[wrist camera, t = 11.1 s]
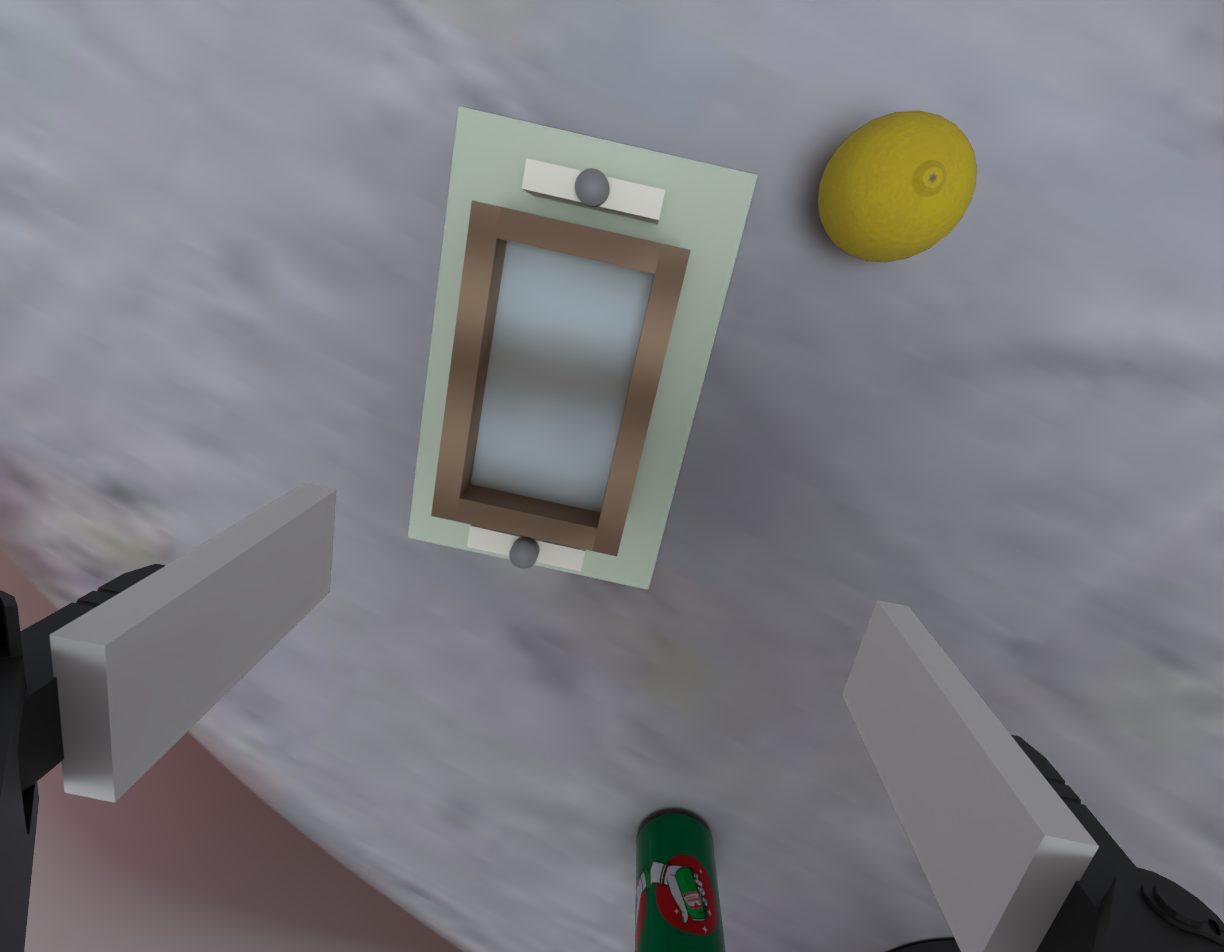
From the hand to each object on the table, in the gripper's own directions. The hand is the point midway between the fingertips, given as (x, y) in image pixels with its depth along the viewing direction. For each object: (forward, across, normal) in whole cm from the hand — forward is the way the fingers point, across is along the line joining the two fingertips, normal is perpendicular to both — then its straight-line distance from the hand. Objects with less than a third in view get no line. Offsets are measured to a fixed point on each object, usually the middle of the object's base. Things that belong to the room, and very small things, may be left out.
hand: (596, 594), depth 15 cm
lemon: (+19, -9, -13) cm, 25 cm away
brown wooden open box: (+19, +4, -2) cm, 19 cm away
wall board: (+19, +4, -2) cm, 19 cm away
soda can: (+20, -9, +27) cm, 35 cm away
